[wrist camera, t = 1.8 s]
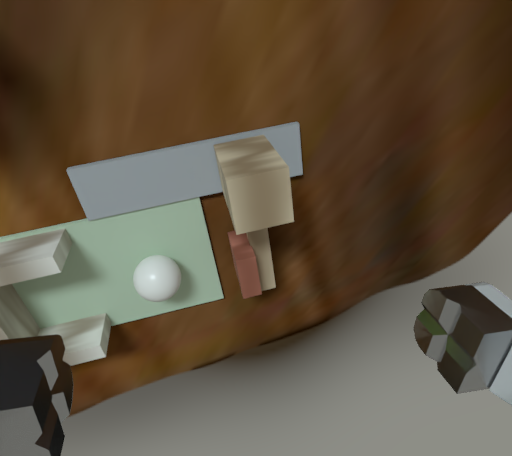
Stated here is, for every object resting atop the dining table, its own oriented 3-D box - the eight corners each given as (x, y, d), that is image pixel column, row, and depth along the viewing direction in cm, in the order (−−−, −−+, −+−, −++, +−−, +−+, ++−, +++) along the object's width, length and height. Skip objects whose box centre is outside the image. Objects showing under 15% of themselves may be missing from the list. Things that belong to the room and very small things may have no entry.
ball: (174, 241, 33) (175, 268, 29) (185, 276, 35) (187, 305, 31) (128, 251, 32) (124, 280, 29) (142, 286, 34) (139, 316, 31)
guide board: (296, 121, 30) (299, 123, 29) (300, 171, 32) (302, 174, 32) (68, 167, 28) (66, 170, 28) (89, 217, 30) (88, 220, 30)
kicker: (263, 134, 29) (288, 167, 23) (280, 265, 36) (303, 316, 30) (209, 145, 29) (221, 181, 23) (236, 275, 35) (251, 329, 30)
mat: (198, 194, 31) (198, 196, 31) (223, 295, 37) (223, 298, 37) (-33, 244, 29) (-35, 246, 29) (33, 342, 36) (32, 345, 35)
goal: (65, 228, 30) (52, 256, 27) (111, 323, 36) (105, 356, 32) (-33, 249, 29) (-59, 281, 26) (30, 343, 35) (16, 379, 32)
